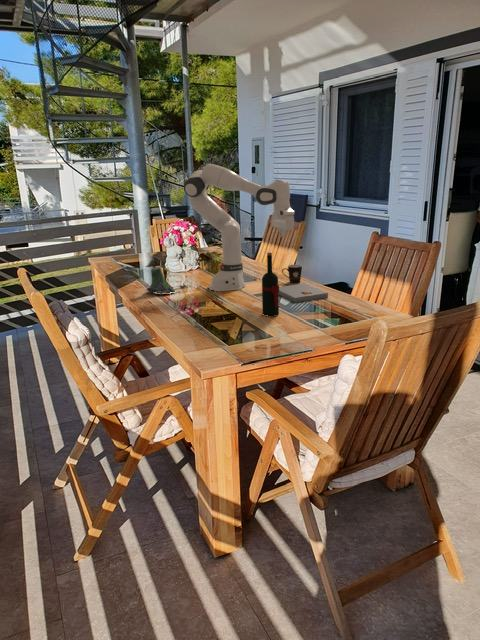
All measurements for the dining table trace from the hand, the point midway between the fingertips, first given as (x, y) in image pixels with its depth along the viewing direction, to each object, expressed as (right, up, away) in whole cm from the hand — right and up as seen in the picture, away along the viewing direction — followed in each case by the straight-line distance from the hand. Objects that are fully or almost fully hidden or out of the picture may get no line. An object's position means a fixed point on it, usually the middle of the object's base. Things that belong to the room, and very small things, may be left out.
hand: (282, 236), depth 264 cm
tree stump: (-68, -30, +19) cm, 77 cm away
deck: (+10, -32, +2) cm, 33 cm away
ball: (+13, -32, -5) cm, 35 cm away
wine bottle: (-8, -44, -32) cm, 55 cm away
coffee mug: (+9, -23, +31) cm, 39 cm away
